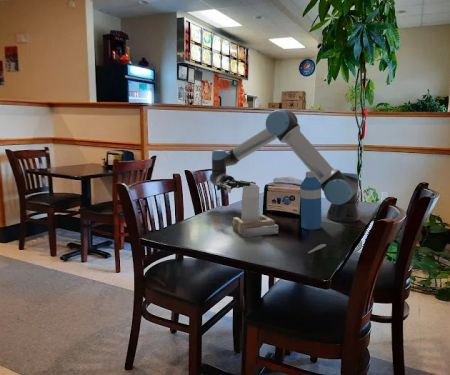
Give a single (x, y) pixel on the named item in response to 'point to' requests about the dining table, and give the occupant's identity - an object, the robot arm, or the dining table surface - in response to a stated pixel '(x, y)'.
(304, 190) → the water bottle
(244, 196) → the light grey rectangular block
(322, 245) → the butter knife
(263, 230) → the stop rail
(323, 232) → the dining table surface
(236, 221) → the cradle
